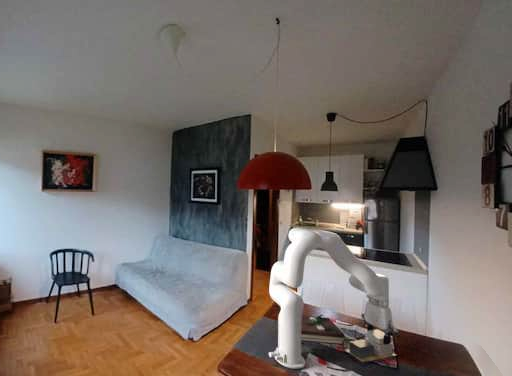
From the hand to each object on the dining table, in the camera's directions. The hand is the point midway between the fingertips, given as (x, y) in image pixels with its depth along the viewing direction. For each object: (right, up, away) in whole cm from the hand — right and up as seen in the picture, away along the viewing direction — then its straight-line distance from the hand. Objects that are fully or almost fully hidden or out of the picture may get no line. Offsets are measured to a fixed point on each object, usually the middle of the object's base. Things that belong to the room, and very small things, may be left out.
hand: (378, 339), depth 122 cm
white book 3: (0, -5, 0) cm, 5 cm away
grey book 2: (-10, -5, -2) cm, 11 cm away
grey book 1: (-10, -3, -2) cm, 11 cm away
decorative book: (-24, -7, +14) cm, 29 cm away
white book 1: (0, 0, 0) cm, 0 cm away
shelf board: (-5, -7, -1) cm, 9 cm away
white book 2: (0, -3, 0) cm, 3 cm away
